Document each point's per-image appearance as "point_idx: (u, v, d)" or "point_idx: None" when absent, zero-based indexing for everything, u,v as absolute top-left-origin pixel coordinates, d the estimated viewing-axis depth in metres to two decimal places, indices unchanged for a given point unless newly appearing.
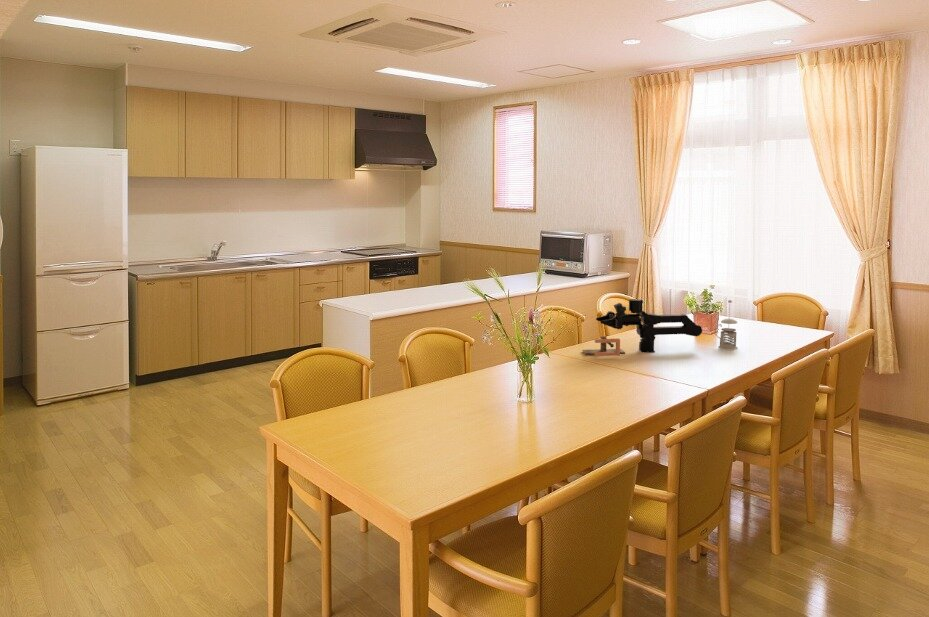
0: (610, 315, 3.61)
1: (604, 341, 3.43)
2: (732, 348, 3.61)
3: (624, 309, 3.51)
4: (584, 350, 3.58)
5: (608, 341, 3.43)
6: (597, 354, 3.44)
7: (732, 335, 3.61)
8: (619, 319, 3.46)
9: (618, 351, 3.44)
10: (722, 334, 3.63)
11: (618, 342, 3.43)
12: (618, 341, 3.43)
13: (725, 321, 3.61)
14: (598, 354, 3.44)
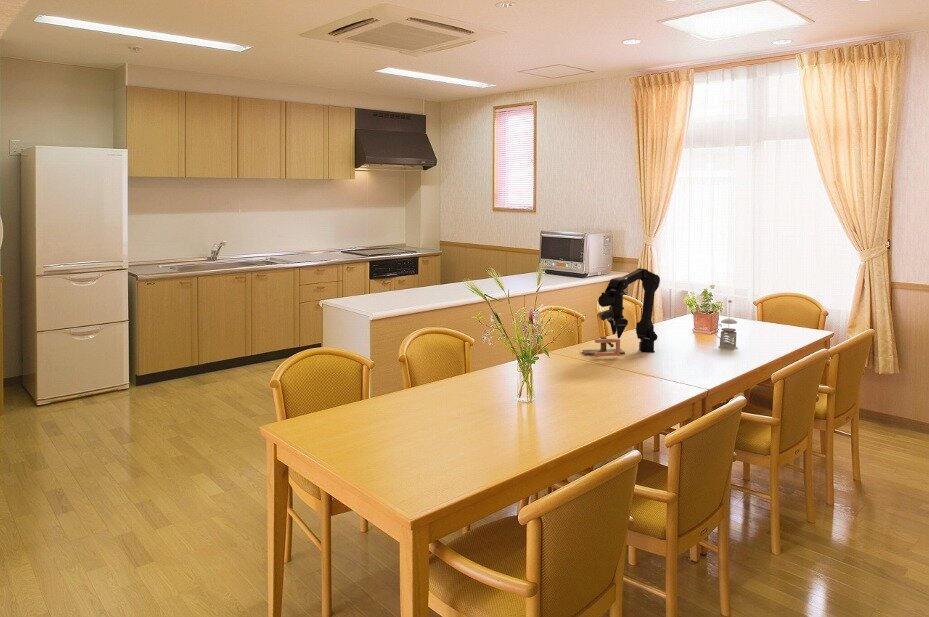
0: (610, 319, 3.48)
1: (604, 341, 3.43)
2: (732, 348, 3.61)
3: (606, 313, 3.38)
4: (584, 350, 3.58)
5: (608, 341, 3.43)
6: (597, 354, 3.44)
7: (732, 335, 3.61)
8: (617, 323, 3.33)
9: (618, 351, 3.44)
10: (722, 334, 3.63)
11: (618, 342, 3.43)
12: (618, 341, 3.43)
13: (725, 321, 3.61)
14: (598, 354, 3.44)
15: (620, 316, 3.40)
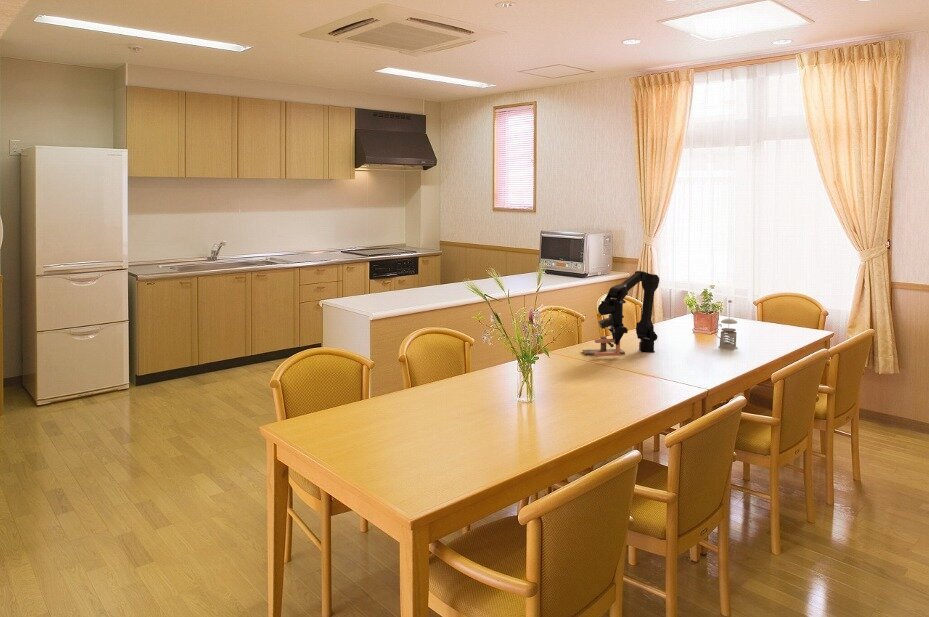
0: (612, 328, 3.46)
1: (604, 341, 3.43)
2: (732, 348, 3.61)
3: (606, 321, 3.38)
4: (584, 350, 3.58)
5: (608, 341, 3.43)
6: (597, 354, 3.44)
7: (732, 335, 3.61)
8: (617, 331, 3.34)
9: (618, 351, 3.44)
10: (722, 334, 3.63)
11: None
12: None
13: (725, 321, 3.61)
14: (598, 354, 3.44)
15: (620, 324, 3.41)
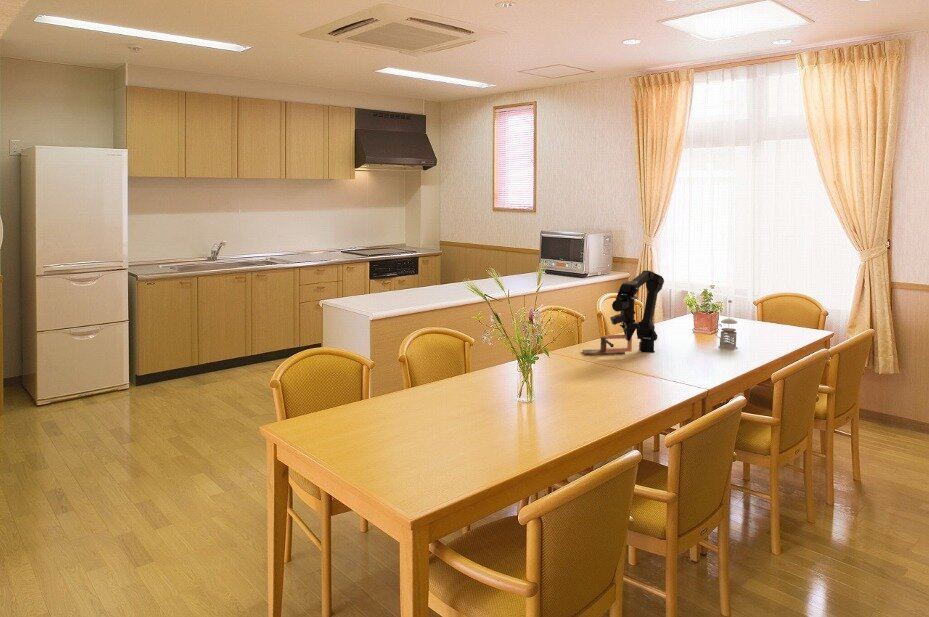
0: (623, 324, 3.46)
1: (616, 337, 3.43)
2: (732, 348, 3.61)
3: (618, 317, 3.38)
4: (584, 350, 3.58)
5: (620, 337, 3.43)
6: (609, 350, 3.44)
7: (732, 335, 3.61)
8: (629, 327, 3.34)
9: (630, 347, 3.44)
10: (722, 334, 3.63)
11: None
12: None
13: (725, 321, 3.61)
14: (610, 350, 3.44)
15: (631, 320, 3.41)
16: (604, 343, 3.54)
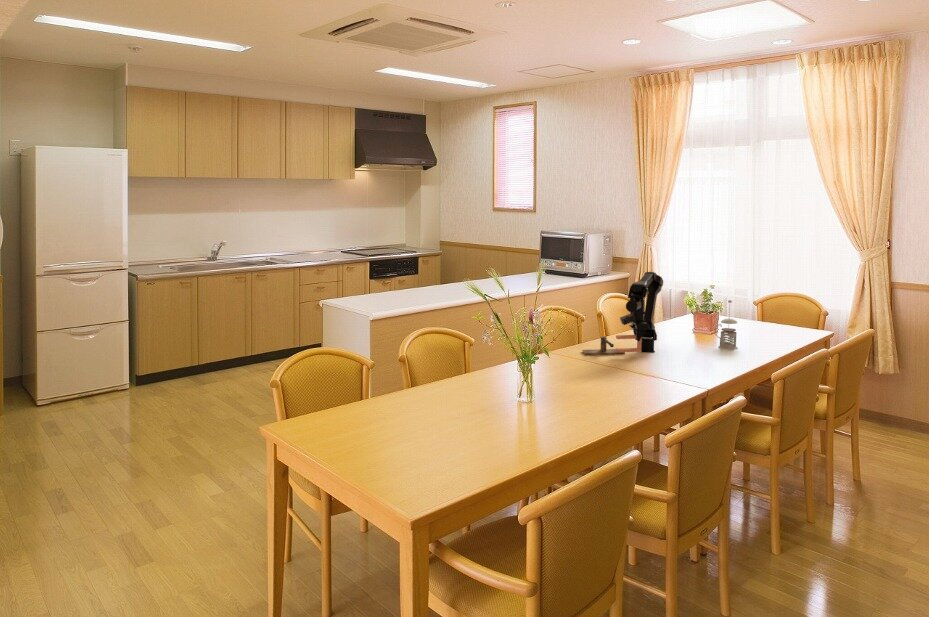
0: (633, 324, 3.46)
1: (626, 337, 3.43)
2: (732, 348, 3.61)
3: (628, 318, 3.39)
4: (584, 350, 3.58)
5: (630, 337, 3.43)
6: (618, 350, 3.44)
7: (732, 335, 3.61)
8: (639, 327, 3.34)
9: (639, 347, 3.44)
10: (722, 334, 3.63)
11: None
12: None
13: (725, 321, 3.61)
14: (619, 350, 3.44)
15: (641, 320, 3.41)
16: (604, 343, 3.54)
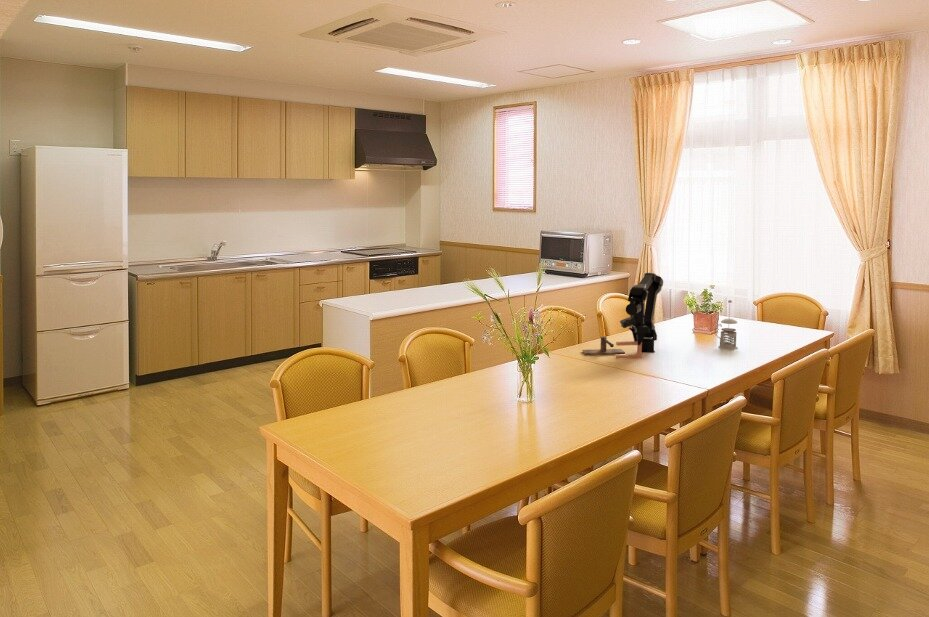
0: (632, 327, 3.47)
1: (626, 344, 3.44)
2: (732, 348, 3.61)
3: (628, 321, 3.39)
4: (584, 350, 3.58)
5: (630, 344, 3.44)
6: (619, 357, 3.44)
7: (732, 335, 3.61)
8: (639, 331, 3.35)
9: (640, 354, 3.45)
10: (722, 334, 3.63)
11: (640, 345, 3.44)
12: (640, 344, 3.44)
13: (725, 321, 3.61)
14: (620, 357, 3.45)
15: (641, 324, 3.41)
16: (604, 343, 3.54)
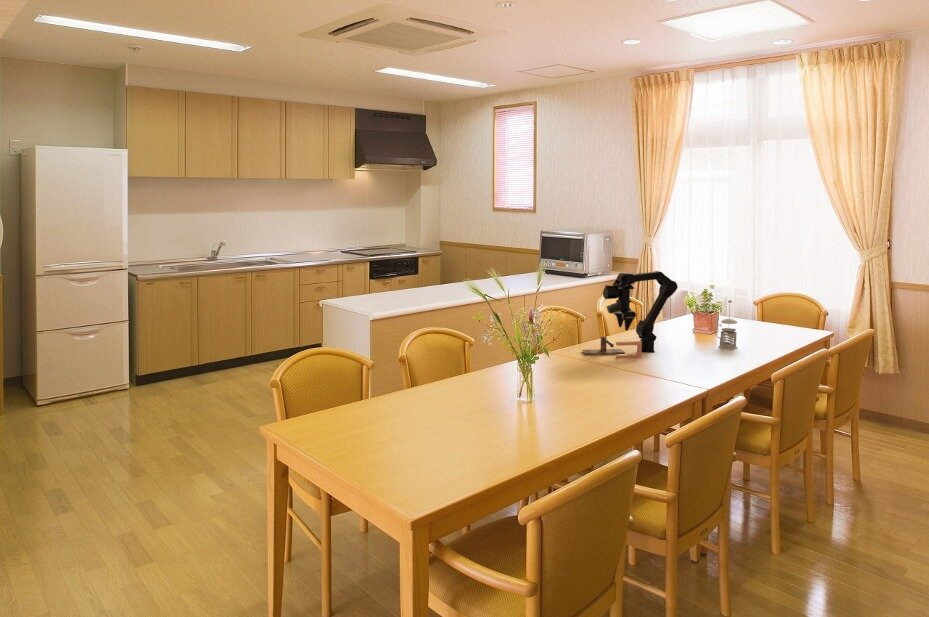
0: (617, 312, 3.58)
1: (626, 344, 3.44)
2: (732, 348, 3.61)
3: (615, 306, 3.48)
4: (584, 350, 3.58)
5: (630, 344, 3.44)
6: (619, 357, 3.44)
7: (732, 335, 3.61)
8: (626, 315, 3.44)
9: (640, 354, 3.45)
10: (722, 334, 3.63)
11: (640, 345, 3.44)
12: (640, 344, 3.44)
13: (725, 321, 3.61)
14: (620, 357, 3.45)
15: (627, 309, 3.50)
16: (604, 343, 3.54)
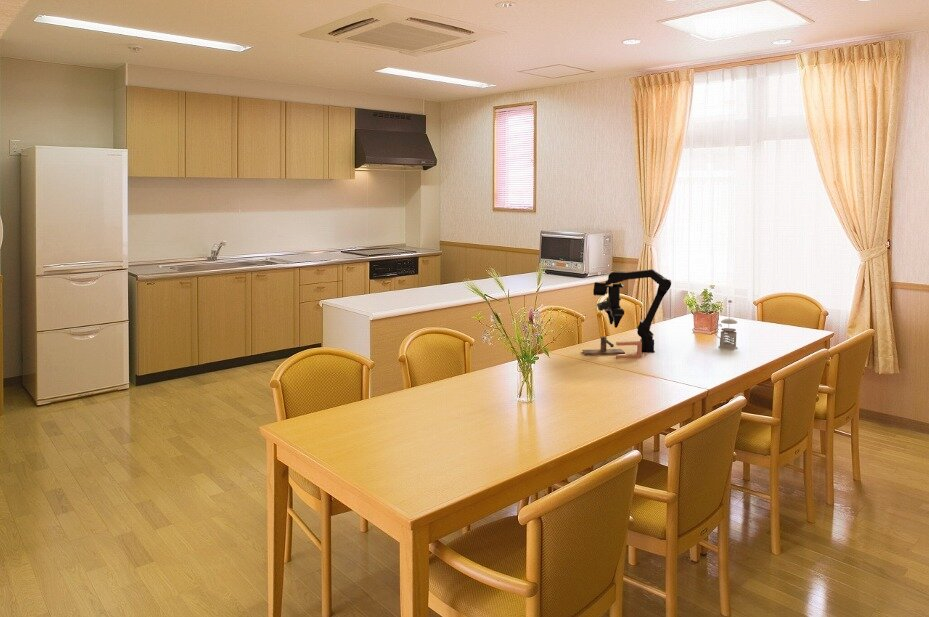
0: (608, 309, 3.67)
1: (626, 344, 3.44)
2: (732, 348, 3.61)
3: (604, 304, 3.56)
4: (584, 350, 3.58)
5: (630, 344, 3.44)
6: (619, 357, 3.44)
7: (732, 335, 3.61)
8: (614, 313, 3.52)
9: (640, 354, 3.45)
10: (722, 334, 3.63)
11: (640, 345, 3.44)
12: (640, 344, 3.44)
13: (725, 321, 3.61)
14: (620, 357, 3.45)
15: (617, 307, 3.59)
16: (604, 343, 3.54)
